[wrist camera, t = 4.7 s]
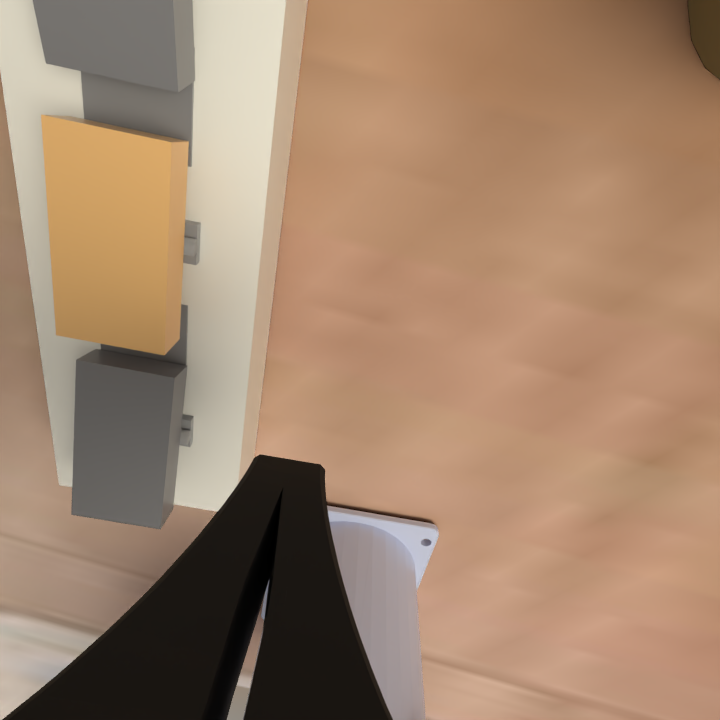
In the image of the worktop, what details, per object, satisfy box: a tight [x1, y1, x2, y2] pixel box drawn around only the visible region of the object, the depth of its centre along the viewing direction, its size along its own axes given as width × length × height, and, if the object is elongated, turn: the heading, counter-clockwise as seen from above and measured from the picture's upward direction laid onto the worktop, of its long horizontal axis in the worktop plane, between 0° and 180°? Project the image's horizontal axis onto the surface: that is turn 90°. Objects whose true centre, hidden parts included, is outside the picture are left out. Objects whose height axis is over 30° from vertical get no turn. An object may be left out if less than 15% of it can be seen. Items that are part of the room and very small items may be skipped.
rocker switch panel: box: [0, 0, 308, 512], centre depth 14 cm, size 28×7×4 cm, turn 169°
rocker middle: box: [41, 115, 189, 355], centre depth 13 cm, size 6×3×1 cm, turn 169°
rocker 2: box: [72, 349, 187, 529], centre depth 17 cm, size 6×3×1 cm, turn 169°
